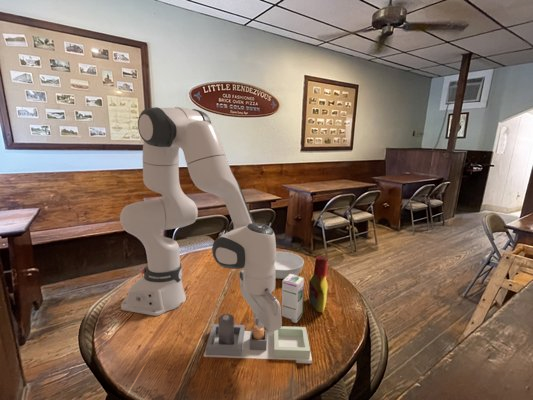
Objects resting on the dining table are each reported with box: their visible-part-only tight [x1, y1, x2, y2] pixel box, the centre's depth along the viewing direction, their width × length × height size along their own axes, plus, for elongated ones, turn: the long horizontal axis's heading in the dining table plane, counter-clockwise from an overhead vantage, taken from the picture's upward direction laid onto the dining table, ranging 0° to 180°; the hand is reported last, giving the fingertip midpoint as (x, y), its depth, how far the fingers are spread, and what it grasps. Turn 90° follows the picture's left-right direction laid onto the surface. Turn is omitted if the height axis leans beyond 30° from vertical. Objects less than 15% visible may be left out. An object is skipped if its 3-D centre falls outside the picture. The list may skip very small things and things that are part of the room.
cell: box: [217, 313, 235, 345], centre depth 78 cm, size 4×4×9 cm
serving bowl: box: [274, 251, 305, 280], centre depth 124 cm, size 21×21×7 cm
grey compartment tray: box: [203, 323, 313, 365], centre depth 79 cm, size 30×11×4 cm, turn 89°
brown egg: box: [253, 324, 265, 340], centre depth 78 cm, size 3×3×4 cm
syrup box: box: [281, 274, 305, 324], centre depth 92 cm, size 6×6×14 cm
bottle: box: [308, 255, 329, 313], centre depth 98 cm, size 12×6×20 cm, turn 178°
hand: (259, 325), depth 77 cm, fingers closed
